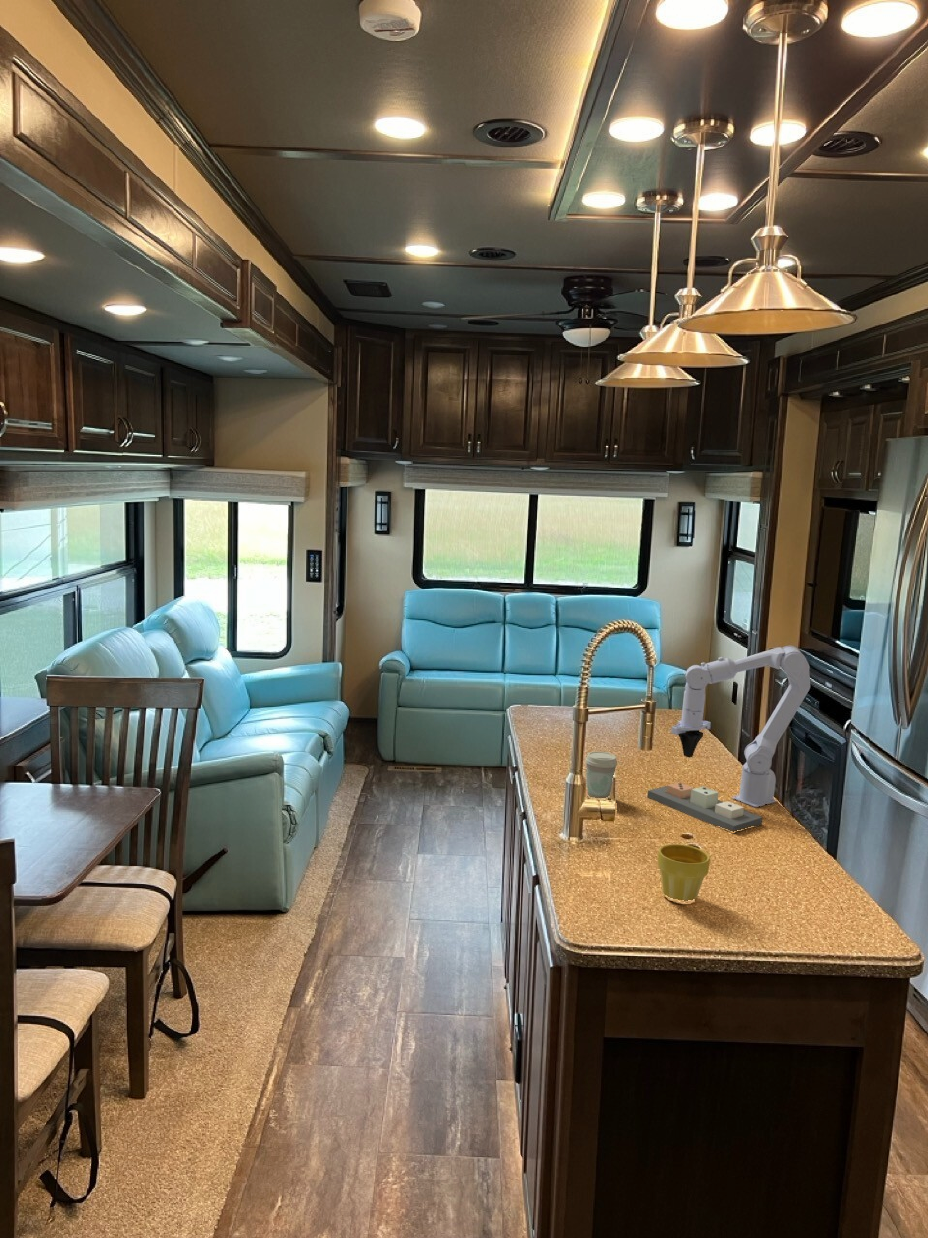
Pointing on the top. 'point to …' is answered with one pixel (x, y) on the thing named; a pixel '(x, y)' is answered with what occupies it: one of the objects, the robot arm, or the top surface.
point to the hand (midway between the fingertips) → (687, 756)
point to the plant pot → (682, 870)
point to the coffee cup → (600, 773)
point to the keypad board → (704, 811)
